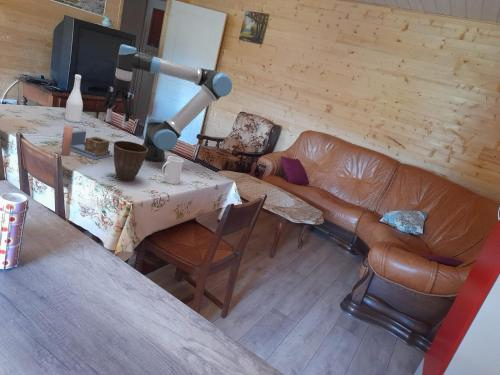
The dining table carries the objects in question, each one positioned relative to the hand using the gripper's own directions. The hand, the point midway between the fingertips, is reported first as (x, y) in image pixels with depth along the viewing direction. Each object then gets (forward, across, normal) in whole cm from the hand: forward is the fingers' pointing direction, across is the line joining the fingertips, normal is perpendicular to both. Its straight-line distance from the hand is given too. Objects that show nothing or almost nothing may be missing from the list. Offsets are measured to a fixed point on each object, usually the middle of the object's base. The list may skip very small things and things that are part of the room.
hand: (116, 124), depth 174 cm
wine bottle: (+20, +61, -42) cm, 77 cm away
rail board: (+19, +14, 0) cm, 24 cm away
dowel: (+19, +16, +13) cm, 28 cm away
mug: (+20, -33, -2) cm, 38 cm away
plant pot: (+20, -19, +14) cm, 31 cm away
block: (+18, +9, 0) cm, 20 cm away
